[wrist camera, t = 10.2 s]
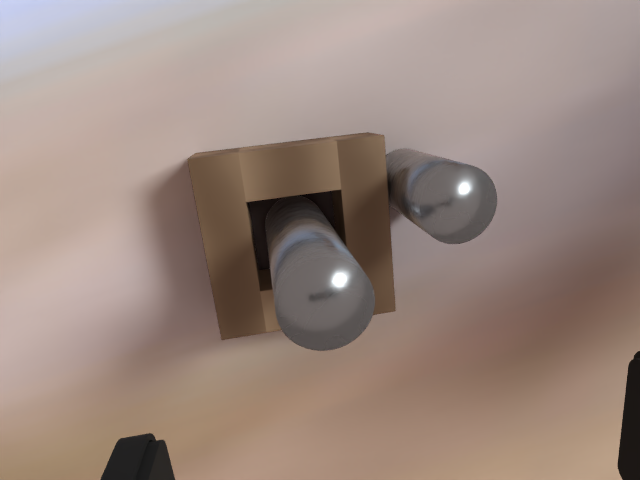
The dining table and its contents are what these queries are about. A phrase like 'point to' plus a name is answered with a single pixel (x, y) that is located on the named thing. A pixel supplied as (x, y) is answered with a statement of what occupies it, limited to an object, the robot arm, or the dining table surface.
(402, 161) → the medium pin
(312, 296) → the long pin
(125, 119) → the dining table surface
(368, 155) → the socket block
